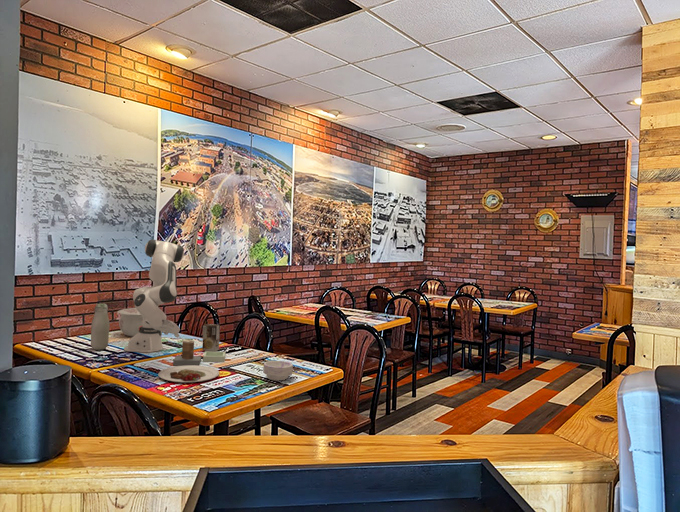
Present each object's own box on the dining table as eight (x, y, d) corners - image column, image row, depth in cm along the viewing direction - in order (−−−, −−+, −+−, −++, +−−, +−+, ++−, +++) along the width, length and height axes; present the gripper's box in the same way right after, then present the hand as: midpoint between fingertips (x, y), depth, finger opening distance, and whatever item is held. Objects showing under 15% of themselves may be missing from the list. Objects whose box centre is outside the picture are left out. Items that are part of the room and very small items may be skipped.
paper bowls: (296, 376, 262) (296, 361, 262) (286, 384, 248) (287, 368, 247) (269, 373, 266) (269, 358, 266) (258, 380, 251) (259, 365, 251)
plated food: (197, 365, 274) (197, 359, 274) (231, 377, 255) (231, 371, 255) (146, 375, 251) (146, 368, 250) (179, 389, 232) (180, 382, 231)
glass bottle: (93, 352, 290) (94, 305, 289) (88, 348, 298) (90, 302, 297) (110, 350, 297) (112, 304, 296) (105, 347, 304) (107, 302, 303)
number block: (187, 359, 273) (188, 341, 273) (181, 357, 276) (182, 340, 276) (193, 358, 277) (194, 340, 276) (187, 356, 279) (188, 339, 279)
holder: (202, 361, 282) (203, 356, 282) (204, 356, 294) (204, 351, 294) (224, 362, 284) (224, 356, 284) (225, 357, 296) (225, 351, 296)
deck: (173, 365, 270) (173, 360, 270) (175, 361, 280) (176, 355, 280) (199, 365, 273) (199, 360, 273) (201, 361, 283) (201, 356, 283)
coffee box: (219, 349, 314) (220, 324, 314) (215, 351, 308) (217, 326, 308) (205, 348, 315) (206, 323, 315) (201, 350, 309) (202, 325, 308)
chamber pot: (131, 340, 325) (132, 309, 325) (107, 334, 340) (108, 305, 340) (167, 335, 349) (168, 306, 348) (143, 329, 364) (144, 302, 363)
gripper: (173, 316, 255) (188, 333, 263) (150, 311, 266) (164, 327, 275) (165, 326, 251) (181, 342, 260) (142, 320, 263) (157, 336, 271)
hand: (172, 335), depth 267 cm, fingers open, 8 cm apart
